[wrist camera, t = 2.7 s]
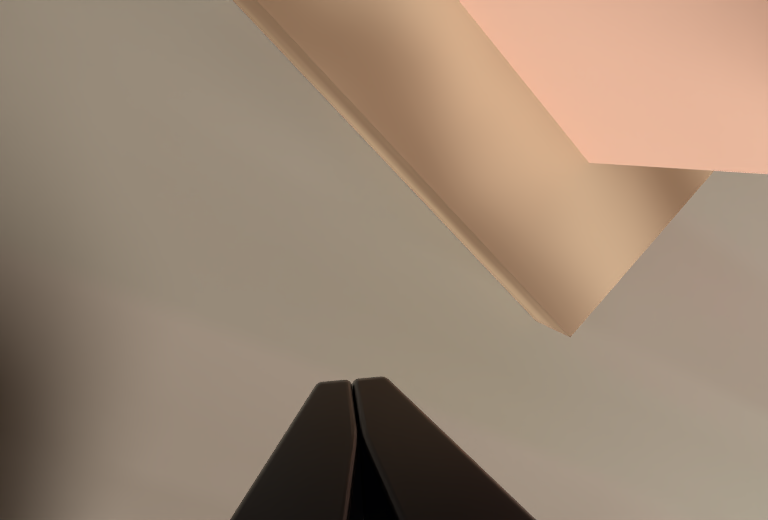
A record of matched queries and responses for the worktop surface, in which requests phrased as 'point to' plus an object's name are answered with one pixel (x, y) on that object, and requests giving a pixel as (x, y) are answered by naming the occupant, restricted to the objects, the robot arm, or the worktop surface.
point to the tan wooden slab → (479, 146)
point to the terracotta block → (644, 76)
